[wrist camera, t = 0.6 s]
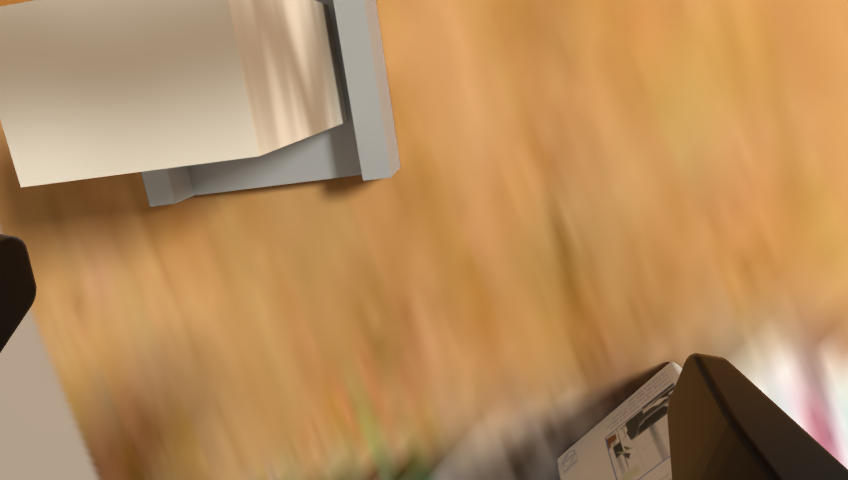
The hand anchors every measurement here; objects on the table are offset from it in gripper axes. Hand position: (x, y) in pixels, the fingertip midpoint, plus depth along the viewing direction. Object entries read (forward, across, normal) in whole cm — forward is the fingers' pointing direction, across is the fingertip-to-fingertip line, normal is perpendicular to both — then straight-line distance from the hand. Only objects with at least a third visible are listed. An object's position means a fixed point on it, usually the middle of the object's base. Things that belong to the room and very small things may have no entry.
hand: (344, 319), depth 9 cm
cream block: (+15, +7, +2) cm, 17 cm away
